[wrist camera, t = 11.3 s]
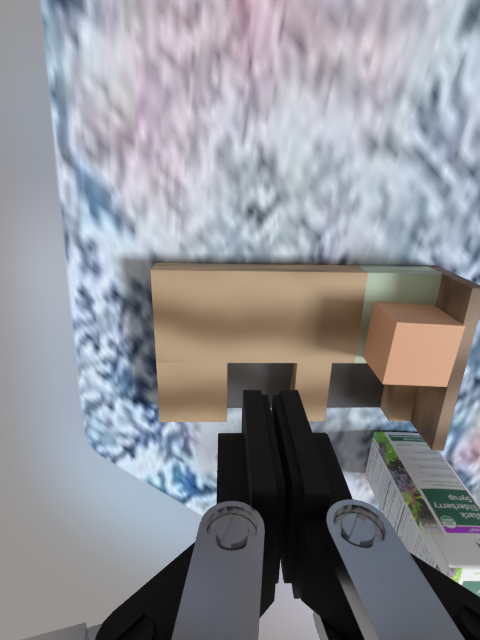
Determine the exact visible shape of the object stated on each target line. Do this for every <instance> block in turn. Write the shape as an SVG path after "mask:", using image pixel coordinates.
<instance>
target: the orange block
mask: <svg viewBox="0 0 480 640" xmlns="http://www.w3.org/2000/svg"><path fill="white" fill-rule="evenodd" d="M464 329H465V325H463V324H462V323H460V322H459V321H457V320H456V319H454V318H453V317H451V316H450V315H448V314H447V313H445V312H443V311H442V310H440V309H439V308H437V307H436V306H434V305H424V304H406V303H388V302H374V305H373V309H372V314H371V319H370V324H369V329H368V334H367V339H366V343H365V348H364V353H363V358H364V359H365V361H366V362H367V363H368V365H369V366H370V368H371V369H372V370H373V372H374V373H375V374H376V376H377V377H378V379H379V380H380V381H381V383H382V384H390V385H414V386H437V387H447V385H448V382H449V378H450V375H451V372H452V368H453V365H454V362H455V359H456V355H457V352H458V349H459V346H460V342H461V339H462V336H463V332H464Z"/></svg>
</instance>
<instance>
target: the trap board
mask: <svg viewBox="0 0 480 640" xmlns="http://www.w3.org/2000/svg"><path fill="white" fill-rule="evenodd" d="M150 272H151V288H152V304H153V319H154V335H155V351H156V367H157V383H158V398H159V414H160V422H227V408H242V402H243V390H261V393H262V394H268V398H269V403H270V408H272V396H273V394H279V390H298V392H299V394H300V397H301V400H302V404H303V407H304V410H305V413H306V416H307V419H308V421H325V416H326V408H327V407H380V408H381V409H382V411H383V412H384V414H385V416H386V417H387V419H388V420H389V421H411V423H412V424H413V425H414V427H415V428H416V429H417V431H418V432H419V434H420V435H421V436H422V438H423V439H424V440H425V442H426V443H427V444H428V446H429V447H430V449H431V450H444V446H445V443H446V439H447V435H448V431H449V428H450V424H451V420H452V416H453V413H454V409H455V405H456V401H457V398H458V394H459V390H460V386H461V382H462V379H463V375H464V371H465V367H466V364H467V360H468V356H469V352H470V349H471V345H472V341H473V337H474V334H475V330H476V326H477V322H478V318H479V315H480V285H478V284H476V283H473V282H471V281H469V280H467V279H465V278H463V277H460V276H458V275H456V274H454V273H452V272H450V271H447V270H445V269H443V268H441V267H439V266H370V265H297V264H223V263H155V264H154V266H153V267H152V268H151V270H150ZM374 302H388V303H406V304H424V305H434V306H436V307H437V308H439V309H440V310H442V311H443V312H445V313H447V314H448V315H450V316H451V317H453V318H454V319H456V320H457V321H459V322H460V323H462V324H463V325H465V329H464V332H463V336H462V339H461V342H460V346H459V349H458V352H457V355H456V359H455V362H454V365H453V368H452V372H451V375H450V378H449V382H448V385H447V387H437V386H414V385H390V384H382V383H381V381H380V380H379V379H378V377H377V376H376V374H375V373H374V372H373V370H372V369H371V368H370V366H369V365H368V363H367V362H366V361H365V359H364V358H363V353H364V348H365V343H366V339H367V334H368V329H369V324H370V319H371V314H372V309H373V305H374Z"/></svg>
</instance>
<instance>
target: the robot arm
mask: <svg viewBox="0 0 480 640" xmlns="http://www.w3.org/2000/svg"><path fill="white" fill-rule="evenodd" d="M280 559H281V566H282V573H283V580H284V583H292V589H293V595H294V598H295V599H298V598H301V600H302V601H303V602H304V603H305V604H306V605H308V606H309V607H310V608H311V609H312V610H313V611H314V612H313V617H314V622H315V626H316V629H317V632H318V634H319V638H320V640H480V597H479V596H478V595H476V594H474V593H473V592H471V591H470V590H468V589H467V588H465V587H463V586H462V585H460V584H459V583H457V582H456V581H454V580H452V579H451V578H449V577H448V576H446V575H445V574H443V573H441V572H440V571H438V570H437V569H435V568H434V567H432V566H430V565H429V564H427V563H426V562H424V561H423V560H421V559H419V558H418V557H416V556H415V555H413V554H411V553H410V552H408V550H407V549H406V547H405V545H404V544H403V542H402V541H401V539H400V538H399V536H398V534H397V533H396V531H395V530H394V528H393V527H392V525H391V524H390V522H389V520H388V519H387V518H386V517H385V516H384V514H383V513H382V512H380V511H379V510H378V509H377V508H375V507H374V506H372V505H370V504H368V503H366V502H363V501H358V500H353V499H352V496H351V494H350V491H349V489H348V486H347V483H346V481H345V478H344V476H343V473H342V470H341V468H340V465H339V463H338V460H337V457H336V455H335V452H334V450H333V447H332V445H331V442H330V439H329V437H328V435H327V434H326V433H312V431H311V428H310V425H309V422H308V419H307V416H306V413H305V410H304V407H303V404H302V400H301V397H300V394H299V392H298V390H279V394H273V396H272V411H271V408H270V403H269V398H268V394H262V393H261V390H243V402H242V433H218V469H217V504H216V505H215V506H213V507H211V508H210V509H209V510H208V511H207V512H206V513H205V514H204V515H203V517H202V520H201V522H200V525H199V529H198V533H197V537H196V541H195V543H193V544H192V545H191V546H190V547H188V548H187V549H186V550H185V551H184V552H183V553H182V554H180V555H179V556H178V557H177V558H176V559H174V560H173V561H172V562H171V563H170V564H169V565H167V566H166V567H165V568H164V569H163V570H162V571H160V572H159V573H158V574H157V575H156V576H154V577H153V578H152V579H151V580H150V581H149V582H147V583H146V584H145V585H144V586H143V587H141V588H140V589H139V590H138V591H137V592H136V593H135V594H133V595H132V596H131V597H130V598H129V599H127V600H126V601H125V602H124V603H123V604H122V605H121V606H119V607H118V608H117V609H116V610H114V611H113V612H112V614H111V615H110V616H109V617H108V618H107V619H106V620H105V621H104V622H103V624H100V625H96V626H92V627H89V628H87V626H86V623H82V624H78V625H75V626H71V627H67V628H63V629H60V630H56V631H52V632H49V633H45V634H41V635H38V636H34V637H30V638H26V639H23V640H258V633H259V619H260V617H261V616H262V615H263V614H264V613H265V611H266V610H267V609H268V608H269V606H270V605H271V604H272V603H273V601H274V596H275V584H276V583H278V580H279V568H280Z"/></svg>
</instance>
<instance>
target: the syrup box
mask: <svg viewBox="0 0 480 640" xmlns="http://www.w3.org/2000/svg"><path fill="white" fill-rule="evenodd" d="M365 475H366V478H367V480H368V482H369V484H370V486H371V489H372V491H373V493H374V495H375V497H376V500H377V502H378V504H379V506H380V509H381V511H382V513H383V514H384V516H385V517H386V518H387V519H388V520H389V522H390V524H391V525H392V527H393V528H394V530H395V531H396V533H397V534H398V536H399V538H400V539H401V541H402V542H403V544H404V545H405V547H406V549H407V550H408V552H410V553H411V554H413V555H415V556H416V557H418V558H419V559H421V560H423V561H424V562H426V563H427V564H429V565H430V566H432V567H434V568H435V569H437V570H438V571H440V572H441V573H443V574H445V575H446V576H448V577H449V578H451V579H452V580H454V581H456V582H457V583H459V584H460V585H462V586H463V587H465V588H467V589H468V590H470V591H471V592H473V593H474V594H476V595H478V596H479V597H480V505H479V504H478V502H477V501H476V500H475V499H474V497H473V496H472V494H471V493H470V492H469V490H468V489H467V488H466V486H465V485H464V484H463V482H462V481H461V480H460V478H459V477H458V476H457V474H456V473H455V472H454V470H453V469H452V468H451V466H450V465H449V464H448V462H447V461H446V459H445V458H444V457H443V455H442V454H441V453H440V451H439V450H431V449H430V447H429V446H428V444H427V443H426V442H425V440H424V439H423V438H422V436H421V435H420V434H419V433H407V432H374V435H373V439H372V444H371V448H370V452H369V457H368V462H367V467H366V471H365Z"/></svg>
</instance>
